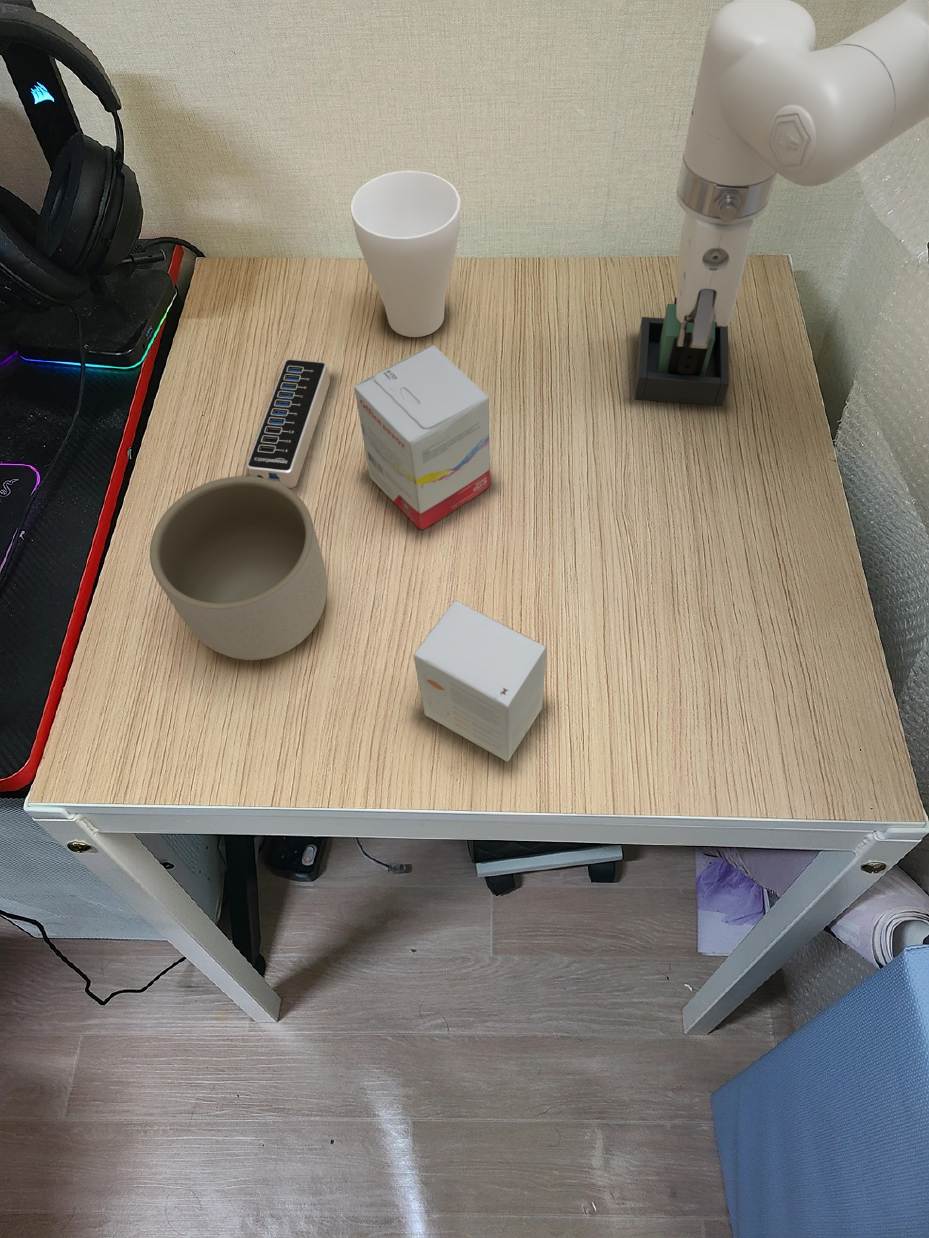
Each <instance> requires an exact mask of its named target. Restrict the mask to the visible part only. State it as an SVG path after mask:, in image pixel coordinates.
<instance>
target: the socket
mask: <svg viewBox="0 0 929 1238" xmlns="http://www.w3.org/2000/svg"><path fill="white" fill-rule="evenodd" d="M664 318H665V317H649V316H641V321H640V325H639V332H638V336H637V348H636V350H637V351H636V364H635V365H636V366H635V386H634V400H639V401H640V400H642V401H651V402H653V401H654V402H667V403H680V404H690V405H691V404H692V405H705V406H715V407H716V406H717V407H722V406H723V405H724V402H725V398H726V394H727V392H728V389H729V385H730V366H729V364H730V362H729V361H730V359H729V358H730V357H729V325H728V326H726V327H723V326H717V323H716V321H715V341H714V344H713V348H712V351H711V355H710V358H709V362H708V366H707V369H706V373H705V376H692V375H679V374H666V373H657V354H658V347H659V342H660V337H661V333H662V328H663V323H664Z"/></svg>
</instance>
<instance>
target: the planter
mask: <svg viewBox="0 0 929 1238" xmlns="http://www.w3.org/2000/svg"><path fill="white" fill-rule="evenodd" d="M149 562H150V566H151V570H152V573H153V575H154V577H155V579H156V581H157V582H158V584H159V586H160V587H161V589H162V591H163V592H164V594H165V595H166V596H167V598H168V599H169V601H170V602H171V604H172V606H173V607H174V609H175V611H176V612H177V614H178V615H179V617H180V618H181V620H182V621H183V623H184V624H185V625H186V626H187V628H188V629H189V630H190V632H191V633H192V634H193V635H194V636H195V637H196V638H197V639H198V640H199V641H200V642H202V644H204V645H205V646H206V647H208V648H209V649H211V650H213V651H214V652H217V653H219V654H221V655H223V656H226V657H229V658H233V659H236V660H243V661H257V660H258V661H259V660H267V659H271V658H275V657H278V656H280V655H282V654H284V653H287V652H289V651H290V650H292V649H294V648H295V647H297V646H298V645H300V644H301V643H302V642H303V641H304V640H305V639H306V638H307V637H308V636H309V635H310V634H311V633H312V632H313V630H314V629H315V628H316V626H317V624H318V623H319V621H320V619H321V617H322V614H323V612H324V609H325V605H326V601H327V595H328V581H327V571H326V567H325V562H324V558H323V554H322V550H321V547H320V543H319V540H318V536H317V532H316V529H315V525H314V521H313V518H312V515H311V513H310V510H309V509H308V507H307V505H306V504H305V502H304V501H303V500H302V498H300V497H299V495H298V494H297V493H295V492H294V491H293V490H292V489H291V488H287V487H286V486H284V485H282V484H280V483H278V482H275V481H272V480H269V479H266V478H261V477H254V476H250V475H237V476H235V475H234V476H228V477H222V478H217V479H215V480H211V481H209V482H205V483H203V484H201V485H199V486H197V487H195V488H193V489H191V490H190V491H188V492H186V493H184V494H183V495H181V497H179V498H178V499H177V500H176V501H175V502H173V503H172V505H170V507H168V509H166V511H165V512H164V514H162V515H161V518H160V519H159V520H158V522H157V524H156V526H155V529H154V531H153V533H152V535H151V540H150V545H149Z"/></svg>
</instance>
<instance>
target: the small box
mask: <svg viewBox="0 0 929 1238" xmlns="http://www.w3.org/2000/svg"><path fill="white" fill-rule="evenodd" d="M412 656H413V660H414V664H415V665H414V667H415V670H416V671H415V672H416V676H417V677H416V678H417V682H418V688H419V692H420V698H421V703H422V708H423V713H424V715H425V717H427V718H429V719H431V720H433V721H435V722H436V723H438V724H440V725H442V726H443V727H445V728H447V729H448V730H449V731H452V732H454V733H456V734H457V735H459V736H461V737H462V738H464V739H466V740H467V741H469V742H471V743H473V744H475V745H477V746H478V747H480V748H482V749H484V750H486V751H488V752H489V753H491V754H492V755H494V756H496V757H498V758H500V759H501V760H503V761H505V762H506V763H507V762H509V761H510V759H511V758H512V756H513V755H514V753H515V752H516V750H517V749H518V747H519V746H520V744H521V743H522V741H523V739H524V738H525V736H526V734H527V733H528V732H529V730H530V728H531V727H532V726H533V724H534V722H535V721H536V719H537V717H538V716H539V714H540V712H541V711H542V709H543V704H544V703H543V702H544V688H545V677H546V675H545V674H546V663H547V646H546V645H545V644H542V643H540V642H538V641H536V640H534V638H533V639H532V638H530V637H528V636H527V635H525V634H523V633H521V632H519V631H517V630H515V629H513V628H512V627H509V626H507V625H505V624H503V623H501V622H499V621H497V620H495V619H494V618H492V617H490V616H488V615H486V614H484V613H482V612H480V611H478V610H476V609H474V608H472V607H471V606H468V605H466V604H464V603H462V602H461V601H459V600H458V599H454V600H453V601H452V603H451V604H450V605H449V607H448V608H447V609H446V611H445V612H444V613H443V614H442V616H441V617H440V619H439V620H438V621H437V623H436V624H435V626H433V628H432V629H431V630H430V632H429V633H428V635H426V636H425V638H424V640H423V641H422V642H421V644H420V645H419V646H418V648H417V649H416V651H414V653H413V655H412Z"/></svg>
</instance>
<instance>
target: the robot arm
mask: <svg viewBox="0 0 929 1238" xmlns="http://www.w3.org/2000/svg"><path fill="white" fill-rule="evenodd" d="M816 31H817V30H816V24H815V22H814V19H813V17H812V15H811V14H810V13H809V12H808V11H807V9H806V8H804V7H803V6H802V5H801V4H799V3H797V2H795V1H792V0H732V1H731V2H729V3H727V4H725V5H724V6H723V7H721V8H720V9H719V10H718V12H717V13H716V14H715V16H714V17H713V19H712V20H711V22H710V25H709V27H708V30H707V34H706V37H705V42H704V47H703V52H702V57H701V63H700V67H699V71H698V72H699V73H698V78H697V82H696V88H695V93H694V99H693V104H692V108H691V114H690V119H689V123H688V124H689V125H688V130H687V135H686V140H685V144H684V150H683V156H682V160H681V164H680V170H679V175H678V182H677V186H676V190H675V198H676V200H677V203H678V204H679V206H680V208H681V210H683V211H684V212H685V214H684V218H683V224H682V230H681V234H680V240H679V248H678V255H677V265H676V297H675V298H674V301H673V304H676V316H677V319H678V320H679V322H680V328H679V333H678V338H674V342H673V346H672V351H671V355H670V359H669V364H668V373H669V374H679V375H692V376H699V375H700V374H701V372H702V368H703V364H704V361H705V357H706V353H707V350H708V346H709V338H710V333H711V329H712V324H713V320H714V315H715V322H716V323H717V326H723V327H726V326H728V327H729V325H730V324H731V322H732V319H733V316H734V311H735V307H736V303H737V299H738V296H739V290H740V287H741V283H742V278H743V274H744V270H745V265H746V261H747V257H748V251H749V247H750V242H751V236H752V230H753V223H754V220H755V219H757V218H758V217H760V216H762V215H763V213H764V212H765V211H766V210H767V208H768V205H769V203H770V199H771V197H772V196H771V195H772V192H773V188H774V185H775V182H776V178H777V175H779V176H781V177H783V178H784V179H785V180H787V181H789V182H791V183H793V184H795V185H798V186H801V187H818V186H820V185H824V184H827V183H829V182H832V181H833V180H835V179H837V178H839V177H840V176H842V175H843V174H845V173H846V172H848V171H849V170H851V169H852V168H854V167H855V166H856V165H858V164H859V163H861V162H862V161H864V160H866V159H867V158H868V157H870V156H871V155H873V154H874V153H875V152H876V151H878V150H880V149H881V148H883V147H884V146H886V145H887V144H889V143H890V142H892V141H893V140H895V139H896V138H897V137H899V136H901V135H902V134H905V133H906V132H907V131H909V130H911V129H912V128H914V127H915V126H916V125H918V124H920V123H921V122H923V121H924V120H926V119H927V118H929V0H905V1H904V2H902V3H901V4H900V5H898V6H896V7H895V8H894V9H892V10H891V11H889V12H887V13H886V14H885V15H883V16H881V17H880V18H878V19H877V20H875V21H873V22H871V23H870V24H868V25H866V26H865V27H863V28H861V29H859V30H857V31H856V32H854V33H852V34H850V35H849V36H847V37H846V38H844V39H842V40H841V41H839V42H837V43H836V44H834V45H832V46H830V47H826V48H822V49H818V50H814V48H815V43H816V38H817V32H816ZM693 309H696V312H694V311H693ZM688 323H694V325H693V331H692V333H691V332H687V333H686V329H687V324H688Z"/></svg>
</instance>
